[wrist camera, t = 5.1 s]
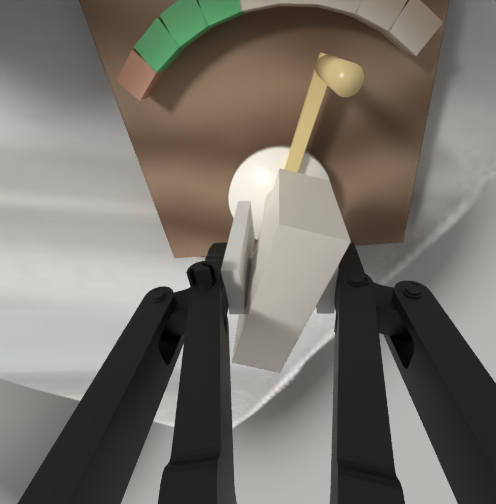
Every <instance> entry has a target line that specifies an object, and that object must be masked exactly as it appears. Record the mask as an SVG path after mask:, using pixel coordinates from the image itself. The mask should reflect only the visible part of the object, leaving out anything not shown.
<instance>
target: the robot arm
mask: <svg viewBox="0 0 496 504" xmlns="http://www.w3.org/2000/svg"><path fill="white" fill-rule="evenodd" d="M254 240H255V236H254V227H253V218H252V209H251V201H238V204H237V208H236V212H235V216H234V220H233V224H232V228H231V232H230V236H229V240H228V242H221V243H214V244H213V245H212V246H211V247H210V248H209V250H208V253H207V256H206V259H205V261H201V262H197V263H195V264H193V265H191V266H190V267H189V268H188V270H187V272H186V273H187V276H188V279H189V283H190V286H191V287H190V288H188V289H185V290H182V291H178V292H174V293H173V290H172V289H171V288H169V287H165V286H164V287H158V288H155V289H153V290H151V291H149V292H148V293H147V294H146V295H145V297H144V298H143V300H142V302H141V303H140V305H139V307H138V308H137V310H136V311H135V313H134V315H133V316H132V318H131V320H130V321H129V323H128V324H127V326H126V328H125V329H124V331H123V333H122V334H121V336H120V338H119V339H118V341H117V342H116V344H115V346H114V347H113V349H112V351H111V352H110V354H109V355H108V357H107V359H106V360H105V362H104V364H103V365H102V367H101V369H100V370H99V372H98V373H97V375H96V377H95V378H94V380H93V382H92V383H91V385H90V386H89V388H88V390H87V391H86V393H85V395H84V396H83V398H82V399H81V401H80V403H79V404H78V406H77V408H76V410H75V411H74V413H73V414H72V416H71V417H70V419H69V421H68V422H67V424H66V426H65V427H64V429H63V431H62V432H61V434H60V435H59V437H58V439H57V440H56V442H55V444H54V445H53V447H52V448H51V450H50V452H49V453H48V455H47V457H46V458H45V460H44V461H43V463H42V465H41V466H40V468H39V470H38V471H37V473H36V474H35V476H34V478H33V479H32V481H31V483H30V484H29V486H28V488H27V489H26V491H25V492H24V494H23V496H22V497H21V499H20V501H19V502H18V504H121V501H122V499H123V496H124V494H125V491H126V488H127V486H128V483H129V481H130V478H131V476H132V473H133V470H134V468H135V466H136V463H137V460H138V458H139V455H140V453H141V450H142V448H143V445H144V443H145V440H146V438H147V435H148V433H149V430H150V427H151V425H152V422H153V420H154V417H155V415H156V412H157V410H158V407H159V405H160V402H161V400H162V397H163V394H164V392H165V389H166V387H167V384H168V382H169V379H170V377H171V374H172V372H173V369H174V367H175V364H176V361H177V359H178V356H179V354H180V351H181V349H182V346H183V344H184V348H183V357H182V366H181V374H180V383H179V392H178V400H177V409H176V418H175V426H174V435H173V444H172V452H171V458H170V461H169V463H168V464H167V465H166V467H165V469H164V471H163V474H162V479H161V484H160V492H159V500H158V504H237V503H236V496H235V487H234V468H233V467H234V466H233V437H232V409H231V382H230V354H229V326H228V318H227V312H228V308H229V313H230V314H244V312H245V306H246V298H247V290H248V282H249V274H250V266H251V260H252V256H253V248H254ZM350 241H351V242H350V244H349V246H348V248H347V250H346V252H345V254H344V255H343V257H342V259H341V261H340V263H339V265H338V266H337V268H336V270H335V272H334V274H333V276H332V278H331V279H330V281H329V283H328V285H327V287H326V289H325V290H324V292H323V294H322V296H321V298H320V300H319V301H318V303H317V305H316V308H317V313H334V310H335V309H336V320H335V330H334V332H335V352H334V388H333V391H334V392H333V424H332V425H333V426H332V460H331V495H330V504H405V501H404V495H403V490H402V486H401V483H400V481H399V480H398V478H397V477H396V473H395V467H394V459H393V450H392V442H391V434H390V424H389V416H388V407H387V399H386V390H385V382H384V373H383V364H382V357H381V347H380V339H379V333H381V334H384V337H385V339H386V342H387V344H388V346H389V348H390V350H391V353H392V355H393V357H394V360H395V362H396V364H397V367H398V369H399V371H400V373H401V376H402V378H403V380H404V382H405V384H406V387H407V389H408V391H409V394H410V396H411V398H412V401H413V403H414V405H415V407H416V410H417V412H418V414H419V416H420V419H421V421H422V423H423V426H424V428H425V430H426V432H427V434H428V437H429V439H430V441H431V444H432V446H433V448H434V450H435V453H436V455H437V457H438V460H439V462H440V464H441V466H442V469H443V471H444V473H445V475H446V478H447V480H448V482H449V484H450V487H451V489H452V491H453V493H454V496H455V498H456V500H457V503H458V504H496V383H495V382H494V381H493V379H492V378H491V376H490V375H489V373H488V372H487V371H486V369H485V368H484V366H483V365H482V363H481V362H480V361H479V359H478V358H477V356H476V355H475V353H474V352H473V351H472V349H471V348H470V346H469V345H468V344H467V342H466V341H465V340H464V338H463V337H462V335H461V334H460V332H459V331H458V329H457V328H456V327H455V325H454V324H453V322H452V321H451V319H450V318H449V317H448V315H447V314H446V313H445V311H444V310H443V308H442V307H441V305H440V304H439V303H438V301H437V300H436V298H435V297H434V295H433V294H432V293H431V292H430V290H429V289H428V288H427V287H426V286H424V285H422V284H420V283H418V282H414V281H401V282H399V283H397V284H396V285H395V288H392V287H387V286H383V285H379V284H377V283H374V282H373V281H372V279H371V278H370V277H369V276H368V275H367V274H365V272H364V269H363V267H362V264H361V261H360V258H359V256H358V253H357V250H356V247H355V245H354V242H353V241H352V240H351V239H350Z"/></svg>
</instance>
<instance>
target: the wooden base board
mask: <svg viewBox="0 0 496 504" xmlns="http://www.w3.org/2000/svg"><path fill="white" fill-rule="evenodd" d="M79 2H80V4H81V7H82V10H83V13H84V15H85V18H86V21H87V23H88V26H89V29H90V31H91V34H92V37H93V40H94V42H95V45H96V48H97V50H98V53H99V56H100V58H101V61H102V64H103V66H104V69H105V72H106V75H107V77H108V80H109V83H110V85H111V88H112V91H113V93H114V96H115V99H116V102H117V104H118V107H119V110H120V112H121V115H122V118H123V120H124V123H125V126H126V128H127V131H128V134H129V137H130V139H131V142H132V145H133V147H134V150H135V153H136V155H137V158H138V161H139V164H140V166H141V169H142V172H143V174H144V177H145V180H146V182H147V185H148V188H149V191H150V193H151V196H152V199H153V201H154V204H155V207H156V209H157V212H158V215H159V217H160V220H161V223H162V226H163V228H164V231H165V234H166V236H167V239H168V242H169V244H170V247H171V250H172V253H173V255H174V258H183V257H197V256H207V253H208V250H209V248H210V247H211V246H212V245H213V244H214V243H221V242H228V240H229V236H230V232H231V228H232V224H233V220H234V218H233V216H232V214H231V211H230V208H229V198H228V195H229V189H230V185H231V182H232V179H233V176H234V174H235V172H236V170H237V168H238V167H239V165H240V164H241V163H242V162H243V161H244V160H245V159H246V158H247V157H248V156H250V155H251V154H252V153H254V152H256V151H258V150H260V149H262V148H265V147H269V146H273V145H290V146H291V144H292V141H293V137H294V134H295V131H296V128H297V125H298V121H299V118H300V115H301V112H302V109H303V105H304V102H305V99H306V96H307V93H308V89H309V86H310V83H311V80H312V77H313V73H314V70H315V65H316V62H317V60H318V57H319V54H320V53H324V54H327V55H331V56H334V57H337V58H340V59H343V60H347V61H350V62H353V63H356V64H358V65H359V66H360V67H361V68H362V70H363V72H364V81H363V85H362V87H361V88H360V90H359V91H358V92H357V93H356V94H354V95H353V96H350V97H341V96H339V95H338V94H336V93H335V92H334V91H333V90H332V89H331V88H330V87H329V86H328V85H327V88H326V91H325V94H324V97H323V99H322V102H321V105H320V108H319V111H318V114H317V117H316V120H315V123H314V126H313V129H312V131H311V134H310V137H309V140H308V143H307V146H306V149H305V151H307V152H309V153H310V154H312V155H313V156H315V157H316V158H317V159H318V160H319V161H320V163H321V164H322V165H323V167H324V168H325V170H326V172H327V174H328V177H329V180H330V183H331V187H332V190H333V193H334V195H335V198H336V201H337V204H338V207H339V209H340V212H341V215H342V218H343V221H344V224H345V226H346V229H347V232H348V235H349V238H350V239H351V240H352V241H353V242H354V245H368V244H382V243H396V242H403V239H404V234H405V229H406V224H407V219H408V213H409V208H410V203H411V198H412V193H413V187H414V182H415V177H416V172H417V166H418V161H419V156H420V151H421V146H422V140H423V135H424V130H425V125H426V120H427V114H428V109H429V104H430V99H431V93H432V88H433V83H434V78H435V73H436V67H437V62H438V57H439V52H440V47H441V41H442V36H443V31H444V26H445V20H446V15H447V10H448V5H449V0H79ZM256 244H257V239H255V240H254V248H253V253H254V250H255V247H256Z"/></svg>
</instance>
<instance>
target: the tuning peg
mask: <svg viewBox="0 0 496 504" xmlns="http://www.w3.org/2000/svg"><path fill="white" fill-rule="evenodd" d="M363 81H364V72H363V70H362V68H361V67H360V66H359V65H358V64H356V63H353V62H350V61H347V60H343V59H340V58H337V57H334V56H331V55H327V54H324V53H320V54H319V57H318V60H317V62H316V65H315V70H314V73H313V77H312V80H311V83H310V86H309V89H308V93H307V96H306V99H305V102H304V105H303V109H302V112H301V115H300V118H299V121H298V125H297V128H296V131H295V134H294V137H293V141H292V144H291V146H290V145H273V146H269V147H265V148H262V149H260V150H258V151H256V152H254V153H252V154H251V155H250V156H248V157H247V158H246V159H245V160H244V161H243V162H242V163H241V164H240V165H239V167H238V168H237V170H236V172H235V174H234V176H233V179H232V182H231V185H230V189H229V195H228V198H229V208H230V211H231V214H232V216H233V218H234V216H235V212H236V208H237V204H238V201H251V209H252V218H253V227H254V236H255V239H257V244H256V247H255V250H254V254H253V257H252V260H251V266H250V274H249V282H248V290H247V298H246V306H245V312H244V314H239V317H238V324H237V331H236V337H235V344H234V351H233V358H232V363H237V364H241V365H246V366H251V367H256V368H260V369H265V370H270V371H274V372H279V373H280V372H281V370H282V368H283V366H284V364H285V362H286V361H287V359H288V357H289V355H290V353H291V351H292V349H293V348H294V346H295V344H296V342H297V340H298V338H299V337H300V335H301V333H302V331H303V329H304V327H305V325H306V324H307V322H308V320H309V318H310V316H311V314H312V313H313V311H314V309H315V307H316V305H317V303H318V301H319V300H320V298H321V296H322V294H323V292H324V290H325V289H326V287H327V285H328V283H329V281H330V279H331V278H332V276H333V274H334V272H335V270H336V268H337V266H338V265H339V263H340V261H341V259H342V257H343V255H344V254H345V252H346V250H347V248H348V246H349V244H350V242H351V241H350V238H349V235H348V232H347V229H346V226H345V224H344V221H343V218H342V215H341V212H340V209H339V207H338V204H337V201H336V198H335V195H334V193H333V190H332V187H331V183H330V180H329V177H328V174H327V172H326V170H325V168H324V167H323V165H322V164H321V163H320V161H319V160H318V159H317V158H316V157H315V156H313V155H312V154H310V153H309V152H307V151H305V149H306V146H307V143H308V140H309V137H310V134H311V131H312V129H313V126H314V123H315V120H316V117H317V114H318V111H319V108H320V105H321V102H322V99H323V97H324V94H325V91H326V88H327V85H328V86H329V87H330V88H331V89H332V90H333V91H334V92H335V93H336V94H338V95H339V96H341V97H350V96H353V95H354V94H356V93H357V92H358V91H359V90H360V88H361V87H362V85H363Z"/></svg>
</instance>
